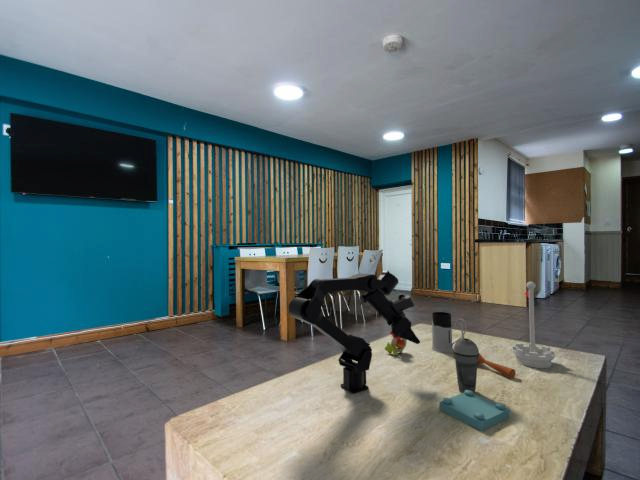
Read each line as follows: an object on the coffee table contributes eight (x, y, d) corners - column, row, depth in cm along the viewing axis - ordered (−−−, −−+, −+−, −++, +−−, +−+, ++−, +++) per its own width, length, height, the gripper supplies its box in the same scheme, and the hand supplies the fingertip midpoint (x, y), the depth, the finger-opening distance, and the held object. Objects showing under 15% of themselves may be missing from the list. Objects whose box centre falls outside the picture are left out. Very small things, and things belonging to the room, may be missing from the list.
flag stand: (562, 369, 113) (560, 283, 114) (522, 368, 115) (519, 283, 116) (543, 357, 126) (541, 279, 127) (507, 356, 128) (505, 279, 129)
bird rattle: (395, 355, 137) (379, 350, 133) (403, 329, 139) (387, 323, 135) (406, 360, 131) (390, 354, 127) (413, 333, 134) (398, 326, 130)
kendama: (505, 368, 105) (456, 347, 123) (506, 385, 106) (457, 361, 124) (517, 362, 107) (467, 342, 125) (518, 379, 108) (469, 356, 126)
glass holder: (435, 344, 144) (435, 310, 144) (469, 351, 135) (469, 314, 135) (428, 349, 137) (427, 314, 137) (463, 356, 128) (462, 318, 128)
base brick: (481, 430, 76) (481, 418, 77) (439, 409, 87) (439, 398, 87) (510, 416, 83) (509, 405, 83) (467, 398, 93) (467, 388, 93)
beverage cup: (477, 399, 92) (475, 328, 93) (450, 392, 97) (449, 324, 97) (482, 389, 98) (481, 323, 99) (457, 384, 103) (456, 320, 103)
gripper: (402, 291, 97) (441, 328, 96) (395, 284, 116) (427, 315, 114) (376, 317, 98) (414, 354, 97) (373, 306, 117) (405, 337, 115)
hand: (416, 338), depth 106 cm, fingers open, 9 cm apart
